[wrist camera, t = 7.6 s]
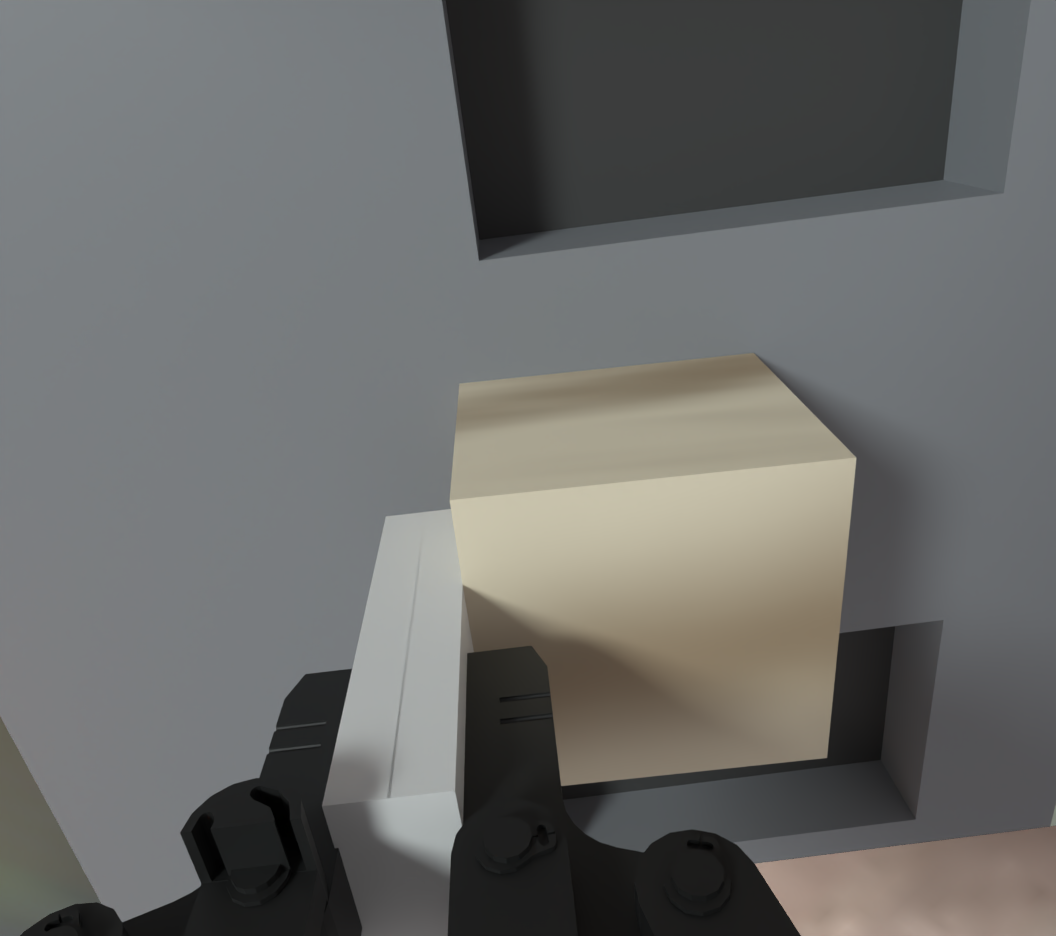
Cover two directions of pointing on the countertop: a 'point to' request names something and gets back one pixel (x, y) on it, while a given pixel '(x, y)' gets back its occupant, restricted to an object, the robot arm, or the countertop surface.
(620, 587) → the birch block
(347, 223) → the platform
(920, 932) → the countertop surface
